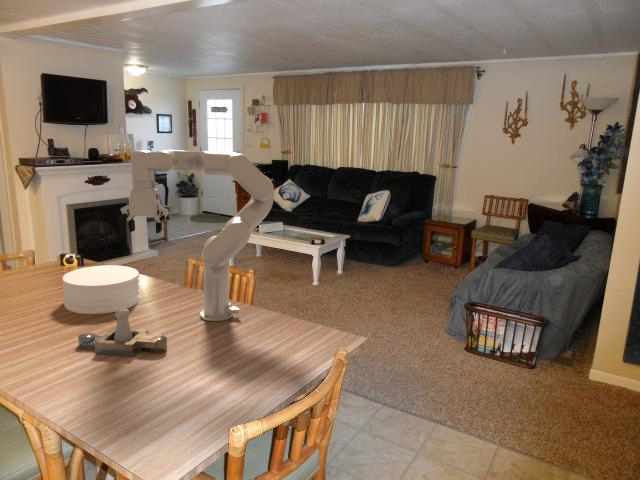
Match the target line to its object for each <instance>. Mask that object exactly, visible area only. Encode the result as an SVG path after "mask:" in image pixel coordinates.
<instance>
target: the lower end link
mask: <svg viewBox="0 0 640 480" xmlns="http://www.w3.org/2000/svg"><path fill="white" fill-rule="evenodd" d="M102 336H103V335H99V334H97V335H96V334H95V333H93V332H86V333H82V334H79V335H78V337H77V338H78V347H79V348H81V349H84V350H94V351H95V355H103V356H115V357H128V358H133V357H134V356H136V354H137V353H139V351H140V350H141V349H142V348H143V347H136V348H135V349H134V350H133V351H125V350H112V349H98V348H95V342H96V341H97V340H98V339H100V338H101V337H102ZM133 338H134V337H133ZM111 341H114V338H113V339H112V340H111Z"/></svg>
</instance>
